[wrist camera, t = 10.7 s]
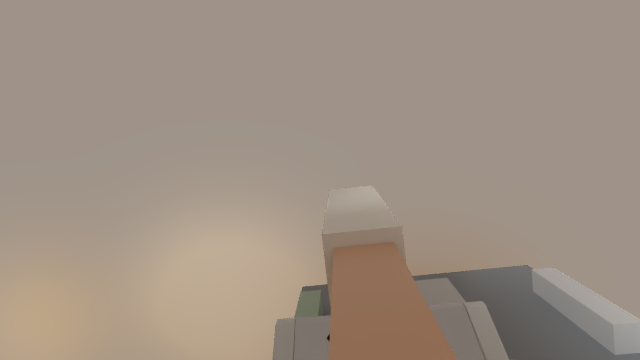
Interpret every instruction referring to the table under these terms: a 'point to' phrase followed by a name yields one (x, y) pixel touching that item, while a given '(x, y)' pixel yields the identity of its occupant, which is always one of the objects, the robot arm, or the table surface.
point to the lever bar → (374, 285)
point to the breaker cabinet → (526, 312)
